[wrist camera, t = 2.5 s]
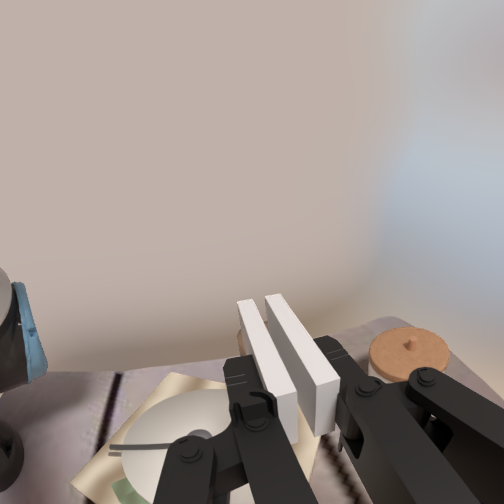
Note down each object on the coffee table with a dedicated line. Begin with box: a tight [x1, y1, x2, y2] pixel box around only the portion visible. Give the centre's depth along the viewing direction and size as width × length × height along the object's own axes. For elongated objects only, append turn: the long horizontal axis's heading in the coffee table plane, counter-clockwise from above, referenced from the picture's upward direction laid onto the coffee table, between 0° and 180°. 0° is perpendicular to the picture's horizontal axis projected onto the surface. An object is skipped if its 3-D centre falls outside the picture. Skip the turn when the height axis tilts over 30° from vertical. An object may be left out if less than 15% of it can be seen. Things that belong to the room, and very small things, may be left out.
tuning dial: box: [109, 322, 269, 504], centre depth 23 cm, size 21×19×15 cm
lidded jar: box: [368, 327, 450, 383], centre depth 30 cm, size 11×11×9 cm
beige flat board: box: [69, 372, 321, 504], centre depth 25 cm, size 24×25×2 cm
